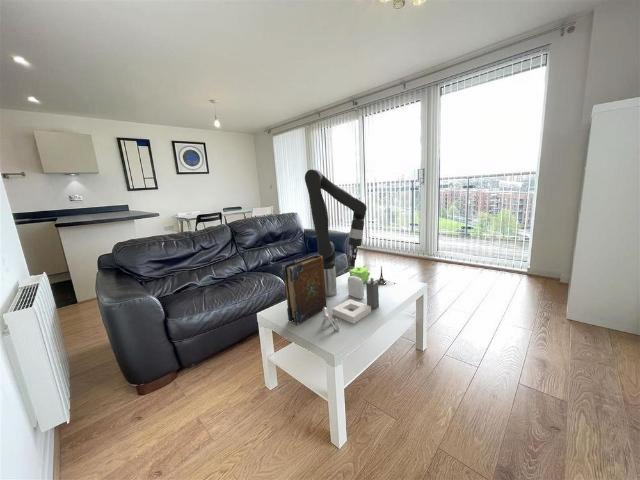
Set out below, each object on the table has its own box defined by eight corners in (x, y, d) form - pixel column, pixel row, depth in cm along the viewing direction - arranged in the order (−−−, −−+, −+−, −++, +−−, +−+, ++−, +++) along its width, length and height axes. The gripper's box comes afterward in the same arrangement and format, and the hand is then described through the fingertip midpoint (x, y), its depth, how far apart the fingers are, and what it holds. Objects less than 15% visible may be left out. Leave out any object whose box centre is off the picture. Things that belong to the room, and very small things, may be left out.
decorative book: (297, 325, 125) (291, 267, 119) (288, 321, 130) (282, 265, 124) (328, 307, 142) (325, 255, 136) (319, 303, 147) (315, 253, 140)
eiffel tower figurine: (396, 284, 167) (396, 264, 164) (387, 289, 161) (387, 269, 158) (377, 279, 178) (377, 260, 175) (368, 283, 172) (367, 264, 169)
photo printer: (347, 294, 155) (346, 275, 153) (352, 292, 158) (351, 273, 155) (360, 300, 148) (359, 279, 145) (365, 297, 150) (364, 277, 148)
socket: (332, 314, 133) (332, 308, 133) (350, 304, 143) (349, 299, 142) (353, 323, 123) (353, 317, 123) (370, 312, 133) (370, 306, 132)
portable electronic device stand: (339, 330, 118) (338, 314, 117) (322, 332, 118) (321, 316, 116) (337, 321, 127) (336, 305, 125) (321, 323, 126) (320, 307, 125)
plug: (367, 307, 139) (365, 278, 135) (371, 304, 142) (371, 276, 138) (374, 309, 135) (373, 280, 132) (378, 306, 138) (378, 277, 135)
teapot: (365, 277, 182) (365, 263, 180) (374, 283, 169) (374, 268, 167) (345, 280, 178) (344, 266, 176) (352, 287, 165) (352, 272, 163)
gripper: (348, 234, 153) (344, 261, 155) (350, 237, 139) (345, 266, 141) (360, 236, 153) (356, 263, 155) (363, 239, 139) (359, 268, 141)
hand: (351, 264), depth 148 cm, fingers open, 8 cm apart
